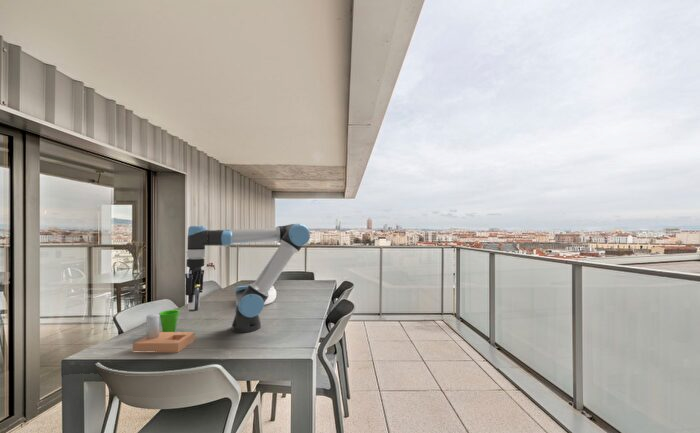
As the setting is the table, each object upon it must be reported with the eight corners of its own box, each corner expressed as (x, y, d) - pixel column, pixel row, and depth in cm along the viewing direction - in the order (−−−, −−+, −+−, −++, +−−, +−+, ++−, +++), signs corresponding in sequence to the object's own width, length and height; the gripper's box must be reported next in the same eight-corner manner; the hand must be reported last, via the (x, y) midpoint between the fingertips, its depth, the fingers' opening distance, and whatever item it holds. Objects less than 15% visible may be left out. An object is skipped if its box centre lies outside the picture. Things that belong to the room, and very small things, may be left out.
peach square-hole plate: (194, 340, 144) (195, 311, 145) (178, 352, 130) (178, 320, 131) (153, 340, 144) (154, 311, 145) (132, 352, 130) (133, 320, 131)
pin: (201, 309, 142) (202, 283, 143) (196, 311, 138) (197, 285, 138) (191, 308, 142) (192, 283, 143) (185, 311, 138) (186, 285, 138)
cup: (169, 337, 148) (170, 315, 149) (154, 336, 150) (154, 314, 150) (183, 331, 157) (183, 310, 157) (168, 330, 159) (168, 309, 159)
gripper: (196, 256, 150) (194, 303, 149) (177, 259, 133) (175, 312, 131) (211, 256, 150) (209, 303, 149) (194, 260, 133) (192, 313, 132)
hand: (193, 307), depth 140 cm, fingers closed on pin, 4 cm apart
